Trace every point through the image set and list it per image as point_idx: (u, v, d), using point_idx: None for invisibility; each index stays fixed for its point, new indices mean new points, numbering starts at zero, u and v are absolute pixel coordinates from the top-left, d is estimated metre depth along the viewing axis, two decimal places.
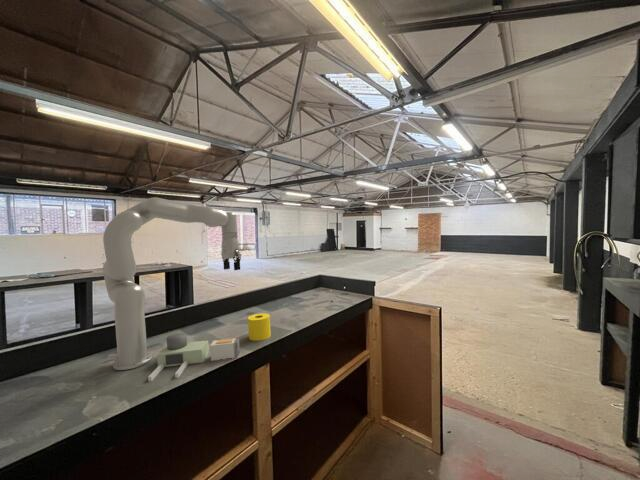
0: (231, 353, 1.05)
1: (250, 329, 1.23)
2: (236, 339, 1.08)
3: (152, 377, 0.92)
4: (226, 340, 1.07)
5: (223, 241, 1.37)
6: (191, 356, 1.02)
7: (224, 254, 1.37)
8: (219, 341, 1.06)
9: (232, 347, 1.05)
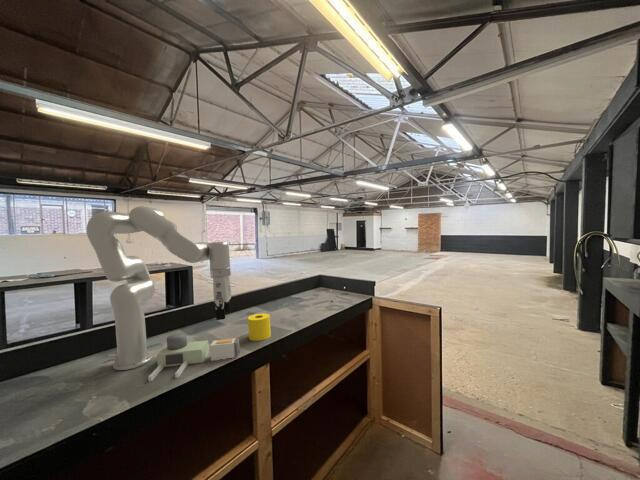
0: (231, 353, 1.05)
1: (250, 329, 1.23)
2: (236, 339, 1.08)
3: (152, 377, 0.92)
4: (226, 340, 1.07)
5: (226, 279, 1.05)
6: (191, 356, 1.02)
7: (228, 295, 1.05)
8: (219, 341, 1.06)
9: (232, 347, 1.05)
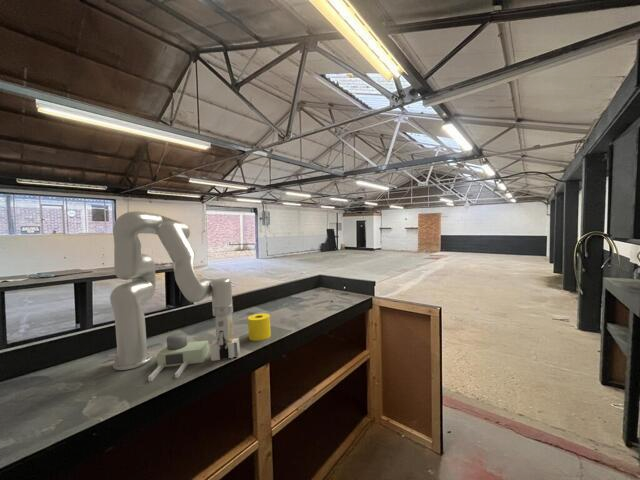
0: (231, 353, 1.05)
1: (250, 329, 1.23)
2: (236, 339, 1.08)
3: (152, 377, 0.92)
4: None
5: (229, 316, 1.05)
6: (191, 356, 1.02)
7: (231, 333, 1.06)
8: None
9: (232, 347, 1.05)
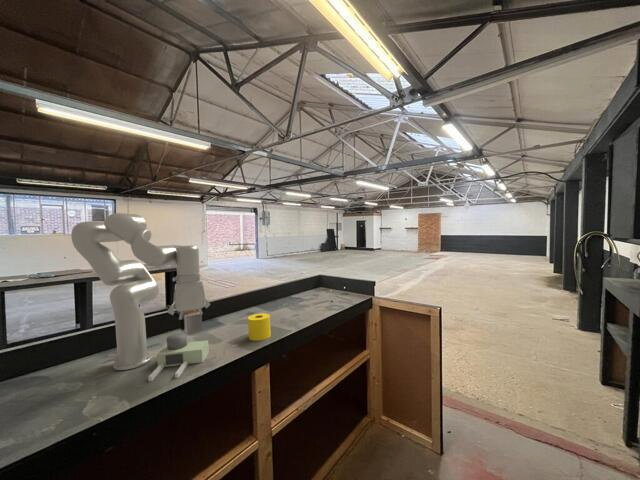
0: (185, 326, 0.96)
1: (250, 329, 1.23)
2: (196, 314, 0.97)
3: (152, 377, 0.92)
4: (190, 311, 0.99)
5: (185, 287, 0.96)
6: (191, 356, 1.02)
7: (187, 305, 0.97)
8: None
9: (185, 320, 0.96)
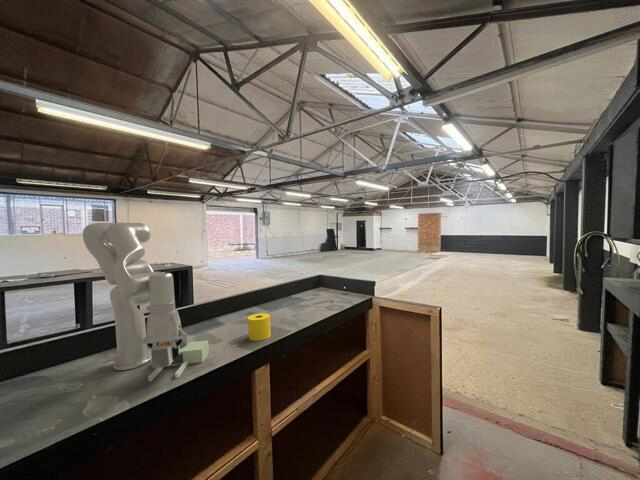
0: None
1: (250, 329, 1.23)
2: (163, 348, 0.90)
3: (152, 377, 0.92)
4: (164, 343, 0.94)
5: (154, 317, 0.92)
6: (191, 356, 1.02)
7: (156, 337, 0.92)
8: None
9: None
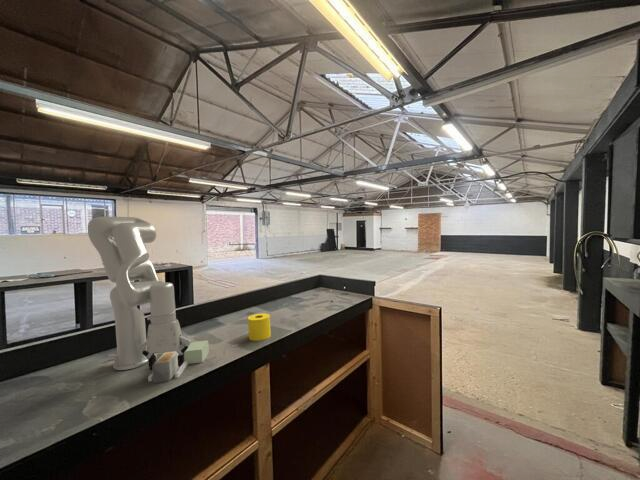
0: None
1: (250, 329, 1.23)
2: (164, 363, 0.91)
3: (152, 377, 0.92)
4: (165, 357, 0.94)
5: (154, 327, 0.92)
6: (191, 356, 1.02)
7: (157, 347, 0.92)
8: (167, 354, 0.97)
9: None
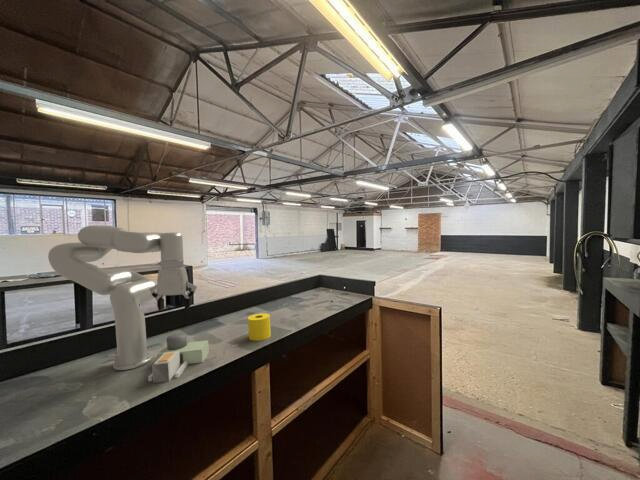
0: None
1: (250, 329, 1.23)
2: (164, 363, 0.91)
3: (152, 377, 0.92)
4: (165, 357, 0.94)
5: (164, 272, 1.00)
6: (191, 356, 1.02)
7: (165, 289, 1.00)
8: (167, 354, 0.97)
9: None
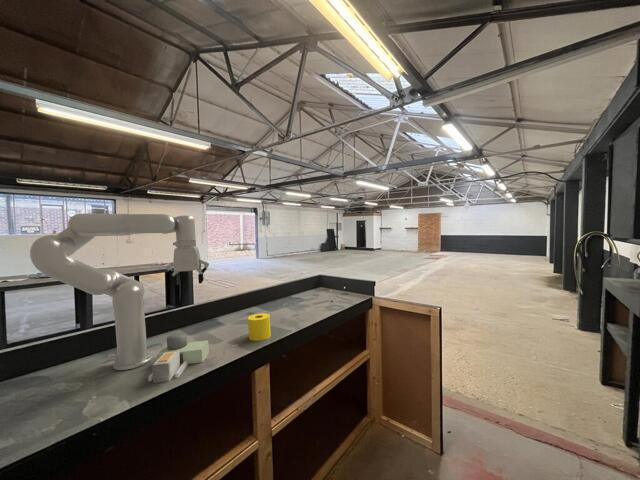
0: None
1: (250, 329, 1.23)
2: (164, 363, 0.91)
3: (152, 377, 0.92)
4: (165, 357, 0.94)
5: (179, 250, 1.13)
6: (191, 356, 1.02)
7: (181, 266, 1.13)
8: (167, 354, 0.97)
9: None
